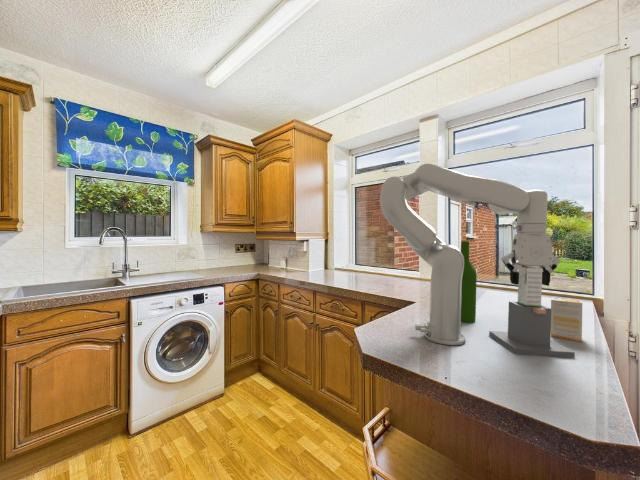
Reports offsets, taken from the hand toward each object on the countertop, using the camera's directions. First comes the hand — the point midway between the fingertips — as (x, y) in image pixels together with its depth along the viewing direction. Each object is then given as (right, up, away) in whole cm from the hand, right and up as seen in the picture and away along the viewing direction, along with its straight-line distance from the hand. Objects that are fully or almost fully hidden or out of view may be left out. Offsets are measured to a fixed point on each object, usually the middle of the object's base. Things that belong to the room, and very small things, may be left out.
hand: (529, 284), depth 91 cm
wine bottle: (-7, -19, +27) cm, 34 cm away
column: (0, -13, 0) cm, 13 cm away
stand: (0, -20, 0) cm, 20 cm away
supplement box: (+19, -20, +8) cm, 29 cm away
